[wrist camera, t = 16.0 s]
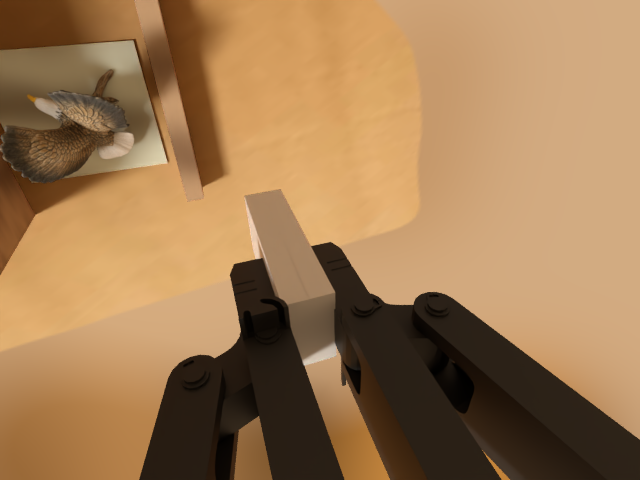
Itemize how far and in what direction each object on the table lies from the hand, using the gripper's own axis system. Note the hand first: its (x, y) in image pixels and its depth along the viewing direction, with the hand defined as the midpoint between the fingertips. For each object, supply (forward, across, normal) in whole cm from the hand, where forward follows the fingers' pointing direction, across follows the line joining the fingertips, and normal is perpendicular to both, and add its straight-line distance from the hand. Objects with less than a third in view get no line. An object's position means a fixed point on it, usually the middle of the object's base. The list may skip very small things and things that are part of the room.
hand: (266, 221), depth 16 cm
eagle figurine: (+18, -13, 0) cm, 22 cm away
